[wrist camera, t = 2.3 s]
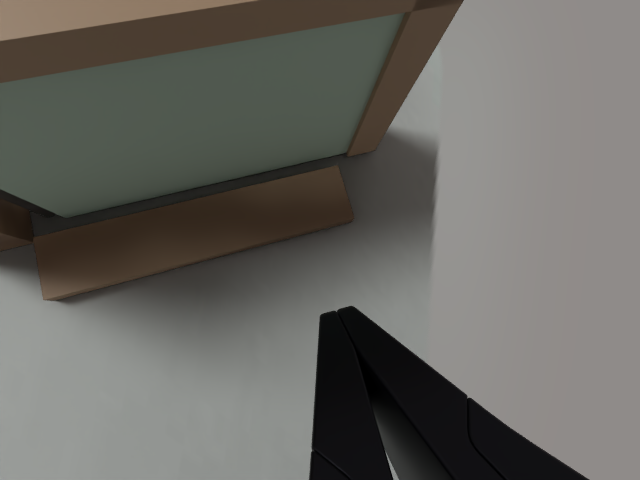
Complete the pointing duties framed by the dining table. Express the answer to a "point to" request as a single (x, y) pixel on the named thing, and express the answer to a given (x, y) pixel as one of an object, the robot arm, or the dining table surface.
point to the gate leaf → (196, 90)
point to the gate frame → (175, 231)
